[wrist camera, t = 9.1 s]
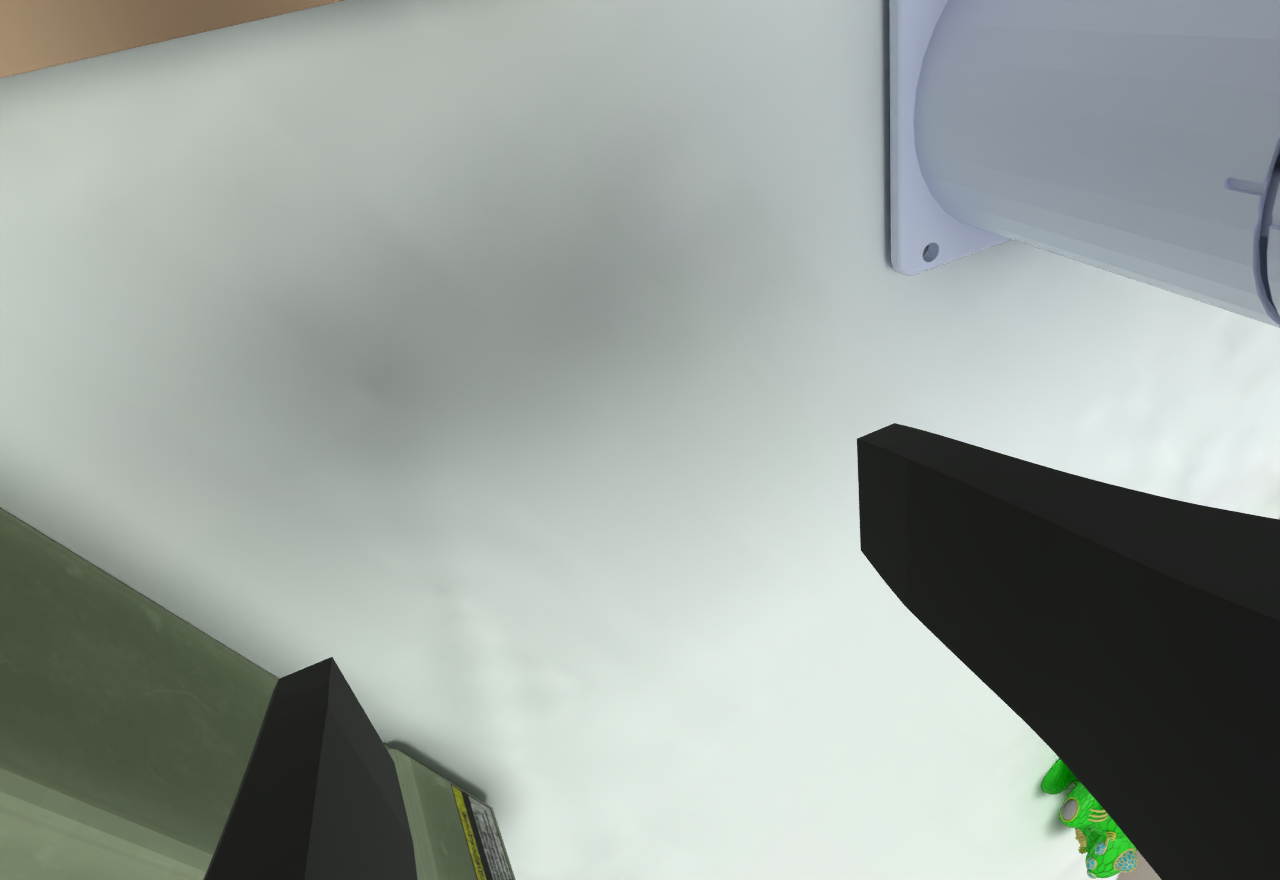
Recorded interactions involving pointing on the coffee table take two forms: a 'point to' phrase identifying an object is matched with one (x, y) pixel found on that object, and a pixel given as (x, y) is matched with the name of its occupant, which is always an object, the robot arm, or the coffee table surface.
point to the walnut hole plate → (115, 26)
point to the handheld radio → (150, 735)
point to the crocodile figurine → (1091, 826)
